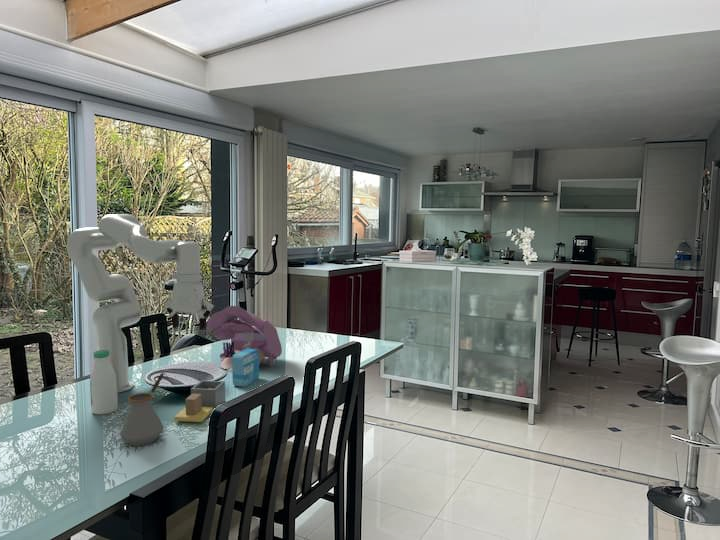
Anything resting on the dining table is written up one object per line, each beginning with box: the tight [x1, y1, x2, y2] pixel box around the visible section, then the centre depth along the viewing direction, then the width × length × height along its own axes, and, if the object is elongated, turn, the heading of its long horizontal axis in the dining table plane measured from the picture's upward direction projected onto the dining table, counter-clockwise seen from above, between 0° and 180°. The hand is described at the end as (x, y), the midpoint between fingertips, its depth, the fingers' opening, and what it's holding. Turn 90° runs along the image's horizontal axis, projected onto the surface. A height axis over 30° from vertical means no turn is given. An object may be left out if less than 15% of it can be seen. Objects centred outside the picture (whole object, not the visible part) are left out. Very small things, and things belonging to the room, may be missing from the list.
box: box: [190, 380, 226, 409], centre depth 173 cm, size 8×8×7 cm
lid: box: [173, 393, 214, 423], centre depth 162 cm, size 9×9×7 cm
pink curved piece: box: [205, 305, 283, 372], centre depth 217 cm, size 35×24×28 cm
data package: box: [231, 348, 260, 388], centre depth 195 cm, size 12×4×12 cm, turn 161°
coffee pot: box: [119, 372, 168, 447], centre depth 151 cm, size 21×12×15 cm, turn 177°
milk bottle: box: [89, 350, 119, 415], centre depth 167 cm, size 8×8×20 cm
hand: (189, 328), depth 174 cm, fingers open, 9 cm apart
